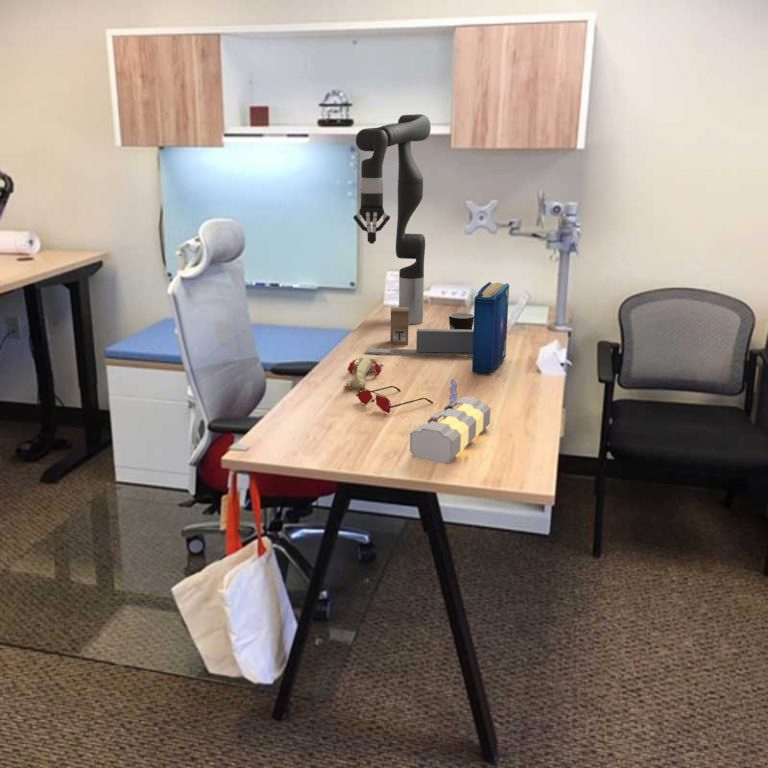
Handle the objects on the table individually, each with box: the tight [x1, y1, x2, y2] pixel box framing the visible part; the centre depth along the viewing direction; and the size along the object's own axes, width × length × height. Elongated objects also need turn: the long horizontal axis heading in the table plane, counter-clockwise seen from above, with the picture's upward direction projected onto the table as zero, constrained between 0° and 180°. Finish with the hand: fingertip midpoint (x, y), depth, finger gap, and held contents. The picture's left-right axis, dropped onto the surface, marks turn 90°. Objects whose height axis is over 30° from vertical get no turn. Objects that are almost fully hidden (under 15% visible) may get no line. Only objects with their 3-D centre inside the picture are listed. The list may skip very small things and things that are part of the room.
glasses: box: [355, 385, 434, 414], centre depth 222 cm, size 14×16×5 cm
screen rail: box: [364, 348, 473, 357], centre depth 270 cm, size 4×40×1 cm, turn 88°
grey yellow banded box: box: [409, 378, 491, 465], centre depth 193 cm, size 25×10×13 cm, turn 154°
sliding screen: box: [415, 328, 474, 353], centre depth 268 cm, size 3×22×7 cm, turn 88°
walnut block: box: [389, 306, 409, 346], centre depth 280 cm, size 6×6×12 cm
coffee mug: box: [448, 312, 474, 330], centre depth 282 cm, size 12×9×10 cm
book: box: [471, 281, 510, 375], centre depth 252 cm, size 22×7×25 cm, turn 161°
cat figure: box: [344, 353, 384, 392], centre depth 242 cm, size 10×9×25 cm
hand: (371, 243), depth 280 cm, fingers closed
